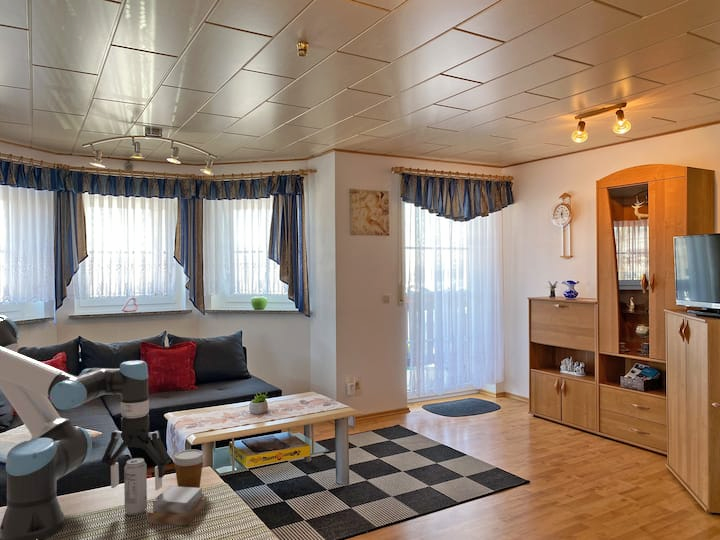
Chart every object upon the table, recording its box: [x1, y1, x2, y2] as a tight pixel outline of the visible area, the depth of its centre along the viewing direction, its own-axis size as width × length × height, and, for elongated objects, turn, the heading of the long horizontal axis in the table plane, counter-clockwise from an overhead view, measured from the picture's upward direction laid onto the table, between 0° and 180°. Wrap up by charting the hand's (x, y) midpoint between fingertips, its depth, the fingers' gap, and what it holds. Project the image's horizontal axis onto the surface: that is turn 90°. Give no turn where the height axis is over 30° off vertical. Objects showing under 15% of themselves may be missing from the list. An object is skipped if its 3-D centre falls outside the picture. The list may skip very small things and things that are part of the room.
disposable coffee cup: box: [172, 449, 205, 488], centre depth 176 cm, size 10×10×12 cm
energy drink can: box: [123, 457, 148, 516], centre depth 162 cm, size 6×6×15 cm
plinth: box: [147, 485, 207, 526], centre depth 160 cm, size 12×12×6 cm
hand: (136, 487), depth 162 cm, fingers open, 13 cm apart
